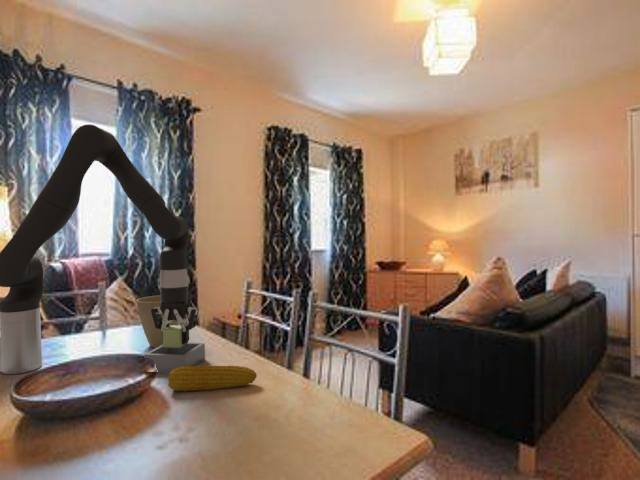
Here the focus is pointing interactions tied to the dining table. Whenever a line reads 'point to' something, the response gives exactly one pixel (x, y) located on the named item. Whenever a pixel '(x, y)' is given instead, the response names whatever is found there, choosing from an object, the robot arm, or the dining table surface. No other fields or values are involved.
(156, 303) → the plant pot
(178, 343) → the green block
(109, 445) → the dining table surface
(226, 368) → the food
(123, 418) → the dining table surface
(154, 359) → the bin
